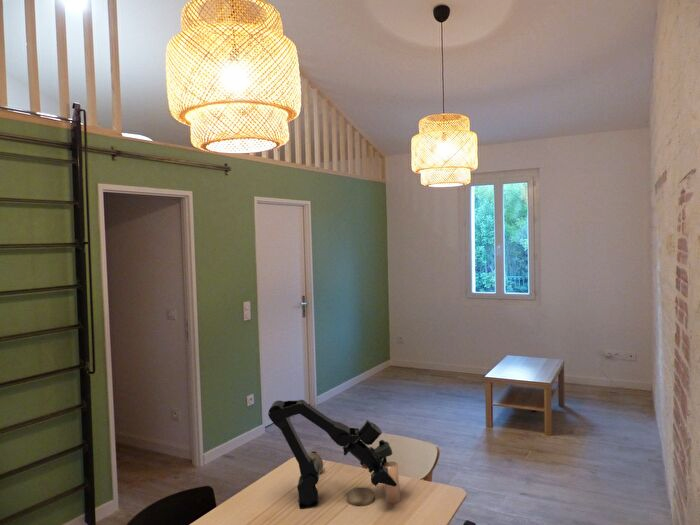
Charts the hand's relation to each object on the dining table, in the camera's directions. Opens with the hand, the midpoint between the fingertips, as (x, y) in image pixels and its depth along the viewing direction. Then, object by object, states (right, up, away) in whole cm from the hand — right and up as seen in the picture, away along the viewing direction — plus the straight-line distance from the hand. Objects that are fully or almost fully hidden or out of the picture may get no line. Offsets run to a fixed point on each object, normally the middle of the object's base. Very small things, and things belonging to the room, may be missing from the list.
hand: (395, 481), depth 188 cm
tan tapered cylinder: (-1, -7, 0) cm, 7 cm away
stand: (-13, -7, +2) cm, 15 cm away
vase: (-31, -7, +26) cm, 41 cm away
